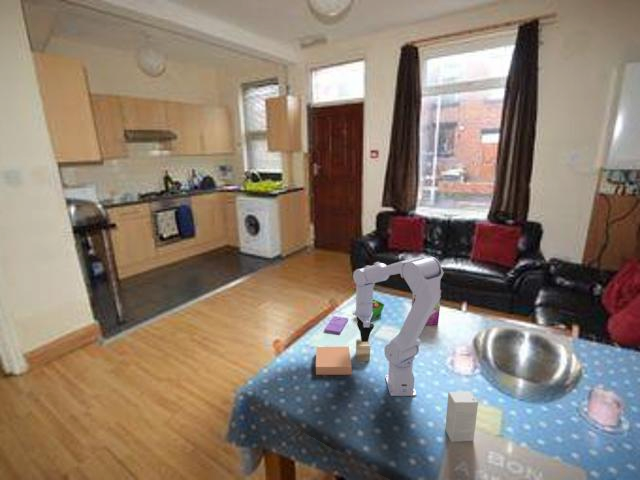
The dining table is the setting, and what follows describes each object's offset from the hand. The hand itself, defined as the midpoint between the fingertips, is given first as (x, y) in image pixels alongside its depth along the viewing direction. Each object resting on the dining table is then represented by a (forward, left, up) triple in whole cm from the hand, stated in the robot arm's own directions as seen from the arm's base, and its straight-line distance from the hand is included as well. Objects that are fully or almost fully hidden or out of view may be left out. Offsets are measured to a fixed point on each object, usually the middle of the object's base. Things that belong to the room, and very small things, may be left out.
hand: (363, 335), depth 119 cm
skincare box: (-35, -21, -9) cm, 42 cm away
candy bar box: (+25, -30, -9) cm, 40 cm away
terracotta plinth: (-4, +11, -9) cm, 15 cm away
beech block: (0, 0, -9) cm, 9 cm away
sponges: (+23, +8, -10) cm, 26 cm away
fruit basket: (+33, -7, -9) cm, 35 cm away
